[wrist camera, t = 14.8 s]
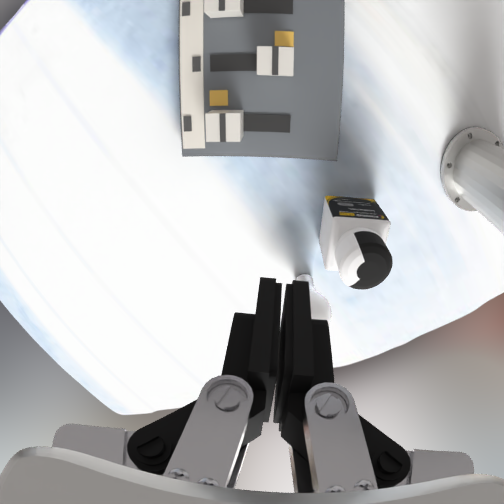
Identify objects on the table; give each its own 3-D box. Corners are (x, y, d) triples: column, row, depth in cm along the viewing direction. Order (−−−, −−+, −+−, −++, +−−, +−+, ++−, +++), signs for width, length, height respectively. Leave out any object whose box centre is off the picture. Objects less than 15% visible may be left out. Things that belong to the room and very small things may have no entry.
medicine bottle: (375, 198, 39) (406, 243, 29) (366, 244, 43) (389, 297, 33) (324, 194, 40) (341, 239, 29) (318, 241, 43) (330, 296, 33)
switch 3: (291, 50, 28) (293, 47, 25) (291, 76, 29) (293, 75, 26) (258, 49, 28) (257, 46, 25) (258, 75, 29) (256, 74, 26)
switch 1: (243, -7, 24) (240, -16, 21) (243, 16, 26) (239, 9, 23) (211, -5, 24) (204, -14, 21) (210, 18, 26) (203, 11, 23)
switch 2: (243, 109, 32) (240, 113, 29) (243, 135, 33) (240, 141, 30) (211, 110, 32) (205, 113, 29) (212, 135, 33) (205, 142, 30)
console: (338, -12, 25) (344, -19, 22) (332, 154, 37) (337, 161, 34) (186, -13, 26) (178, -20, 23) (188, 150, 38) (181, 157, 35)
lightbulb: (276, 269, 46) (275, 321, 37) (316, 255, 45) (326, 305, 35) (292, 300, 49) (294, 352, 40) (329, 287, 47) (340, 339, 38)
